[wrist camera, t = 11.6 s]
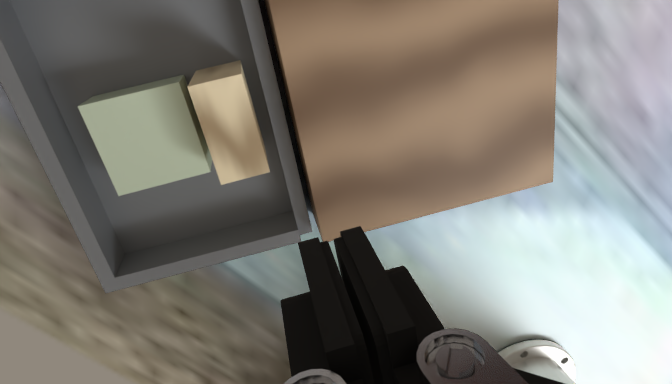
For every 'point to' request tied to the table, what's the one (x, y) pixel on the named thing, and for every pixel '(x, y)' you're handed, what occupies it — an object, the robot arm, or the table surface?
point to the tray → (132, 70)
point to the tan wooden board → (416, 103)
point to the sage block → (147, 134)
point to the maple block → (229, 122)
